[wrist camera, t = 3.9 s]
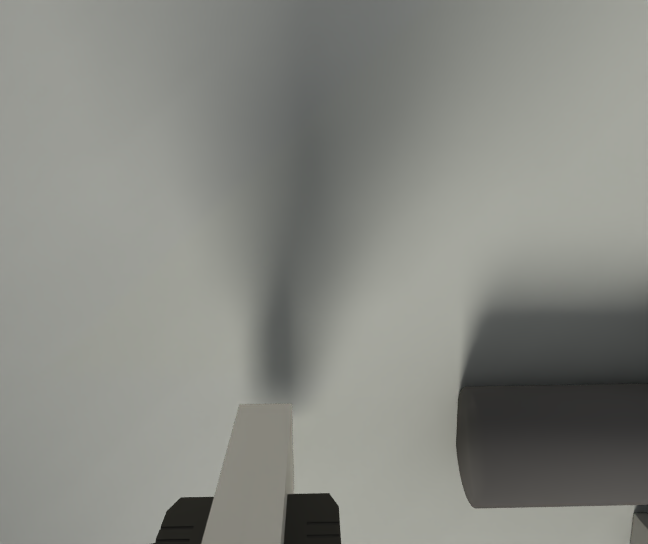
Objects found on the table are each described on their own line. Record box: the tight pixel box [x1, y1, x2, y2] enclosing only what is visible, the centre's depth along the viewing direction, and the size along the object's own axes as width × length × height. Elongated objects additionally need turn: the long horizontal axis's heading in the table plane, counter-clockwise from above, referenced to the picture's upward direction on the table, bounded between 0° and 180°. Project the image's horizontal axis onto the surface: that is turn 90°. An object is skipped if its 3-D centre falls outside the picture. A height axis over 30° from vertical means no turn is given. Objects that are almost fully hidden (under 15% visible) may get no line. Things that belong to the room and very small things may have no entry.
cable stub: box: [456, 383, 648, 508], centre depth 18 cm, size 10×3×3 cm, turn 91°
